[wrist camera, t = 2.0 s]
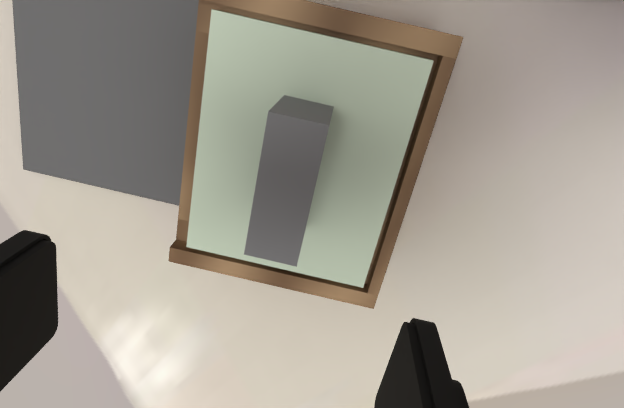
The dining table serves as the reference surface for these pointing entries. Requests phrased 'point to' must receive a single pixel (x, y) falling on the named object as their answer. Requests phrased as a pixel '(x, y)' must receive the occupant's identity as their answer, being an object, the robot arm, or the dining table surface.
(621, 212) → the dining table surface
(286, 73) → the cover plate
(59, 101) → the rubber mat
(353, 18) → the walnut box
